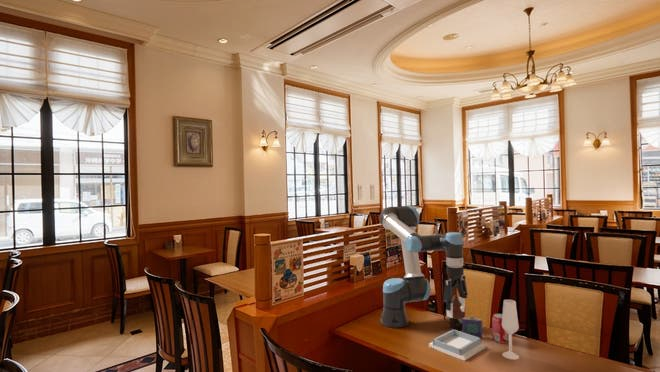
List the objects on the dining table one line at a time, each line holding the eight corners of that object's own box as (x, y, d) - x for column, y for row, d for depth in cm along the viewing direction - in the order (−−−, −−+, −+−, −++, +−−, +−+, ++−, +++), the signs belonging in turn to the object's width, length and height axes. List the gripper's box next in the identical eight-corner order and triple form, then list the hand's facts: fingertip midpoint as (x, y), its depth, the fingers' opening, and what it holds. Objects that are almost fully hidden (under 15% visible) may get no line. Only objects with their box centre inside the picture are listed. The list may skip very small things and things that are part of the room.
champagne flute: (516, 352, 159) (515, 299, 159) (521, 360, 153) (520, 304, 153) (500, 351, 161) (499, 298, 161) (504, 358, 154) (503, 303, 154)
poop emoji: (447, 310, 172) (447, 291, 172) (466, 313, 168) (465, 293, 169) (444, 318, 163) (443, 297, 163) (464, 320, 160) (463, 299, 160)
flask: (482, 336, 177) (481, 315, 177) (483, 339, 174) (482, 317, 174) (462, 334, 180) (461, 313, 179) (462, 337, 177) (462, 315, 177)
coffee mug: (463, 325, 192) (462, 306, 192) (467, 331, 183) (467, 312, 183) (440, 324, 193) (440, 306, 193) (444, 331, 184) (443, 311, 184)
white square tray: (428, 346, 167) (428, 338, 167) (450, 335, 179) (450, 327, 179) (464, 360, 153) (464, 351, 153) (485, 348, 165) (485, 339, 165)
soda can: (508, 338, 174) (507, 314, 174) (508, 344, 168) (508, 319, 168) (492, 336, 177) (492, 312, 177) (492, 342, 171) (491, 317, 170)
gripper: (448, 271, 156) (449, 322, 156) (474, 263, 170) (475, 310, 170) (433, 268, 162) (435, 318, 162) (460, 261, 176) (461, 306, 176)
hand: (456, 314), depth 166 cm, fingers closed on poop emoji, 10 cm apart
